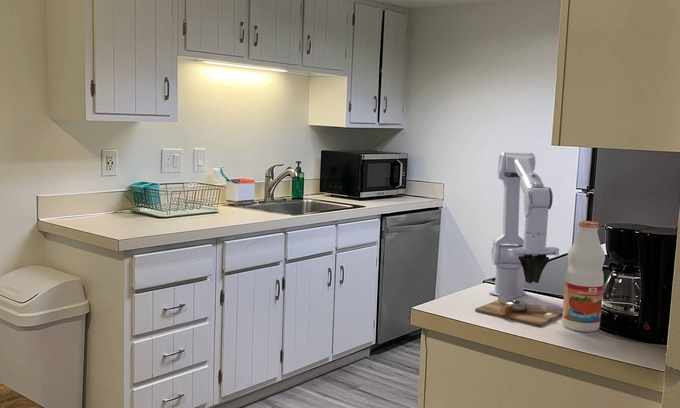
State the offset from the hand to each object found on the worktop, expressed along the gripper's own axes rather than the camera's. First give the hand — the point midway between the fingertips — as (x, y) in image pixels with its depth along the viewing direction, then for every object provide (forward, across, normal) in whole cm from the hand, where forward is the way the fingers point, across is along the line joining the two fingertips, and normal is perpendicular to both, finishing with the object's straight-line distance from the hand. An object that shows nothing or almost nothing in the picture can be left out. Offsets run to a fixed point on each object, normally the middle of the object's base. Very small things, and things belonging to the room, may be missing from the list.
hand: (531, 282), depth 176 cm
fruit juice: (+11, +10, -9) cm, 17 cm away
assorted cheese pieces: (+9, -1, +6) cm, 11 cm away
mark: (+10, +5, -2) cm, 12 cm away
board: (+10, 0, +6) cm, 12 cm away
